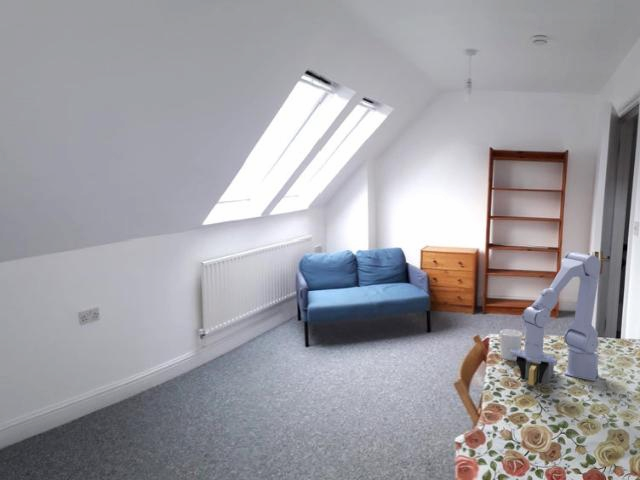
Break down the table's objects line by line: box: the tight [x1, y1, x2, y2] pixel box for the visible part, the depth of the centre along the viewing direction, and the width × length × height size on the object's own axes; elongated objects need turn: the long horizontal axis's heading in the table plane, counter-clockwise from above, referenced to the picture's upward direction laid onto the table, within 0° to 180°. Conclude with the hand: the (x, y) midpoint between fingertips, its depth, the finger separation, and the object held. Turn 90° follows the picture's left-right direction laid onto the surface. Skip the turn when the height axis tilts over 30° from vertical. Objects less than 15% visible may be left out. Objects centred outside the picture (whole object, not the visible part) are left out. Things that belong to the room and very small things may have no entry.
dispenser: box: [519, 352, 555, 384], centre depth 169 cm, size 9×11×7 cm
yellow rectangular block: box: [527, 364, 539, 386], centre depth 166 cm, size 2×10×6 cm, turn 145°
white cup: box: [499, 328, 523, 361], centre depth 185 cm, size 8×8×10 cm
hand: (531, 380), depth 163 cm, fingers open, 5 cm apart
